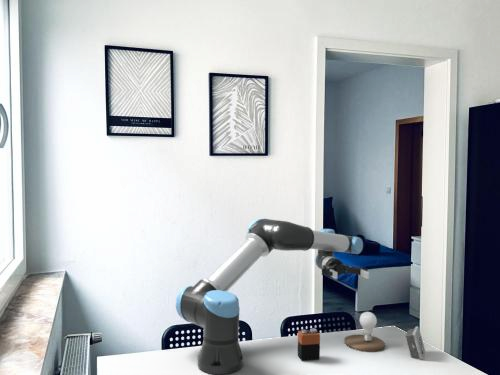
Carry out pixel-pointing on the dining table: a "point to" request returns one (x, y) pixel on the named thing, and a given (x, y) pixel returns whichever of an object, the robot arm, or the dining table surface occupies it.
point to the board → (364, 343)
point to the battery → (308, 345)
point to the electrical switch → (415, 343)
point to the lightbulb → (368, 324)
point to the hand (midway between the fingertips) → (352, 275)
